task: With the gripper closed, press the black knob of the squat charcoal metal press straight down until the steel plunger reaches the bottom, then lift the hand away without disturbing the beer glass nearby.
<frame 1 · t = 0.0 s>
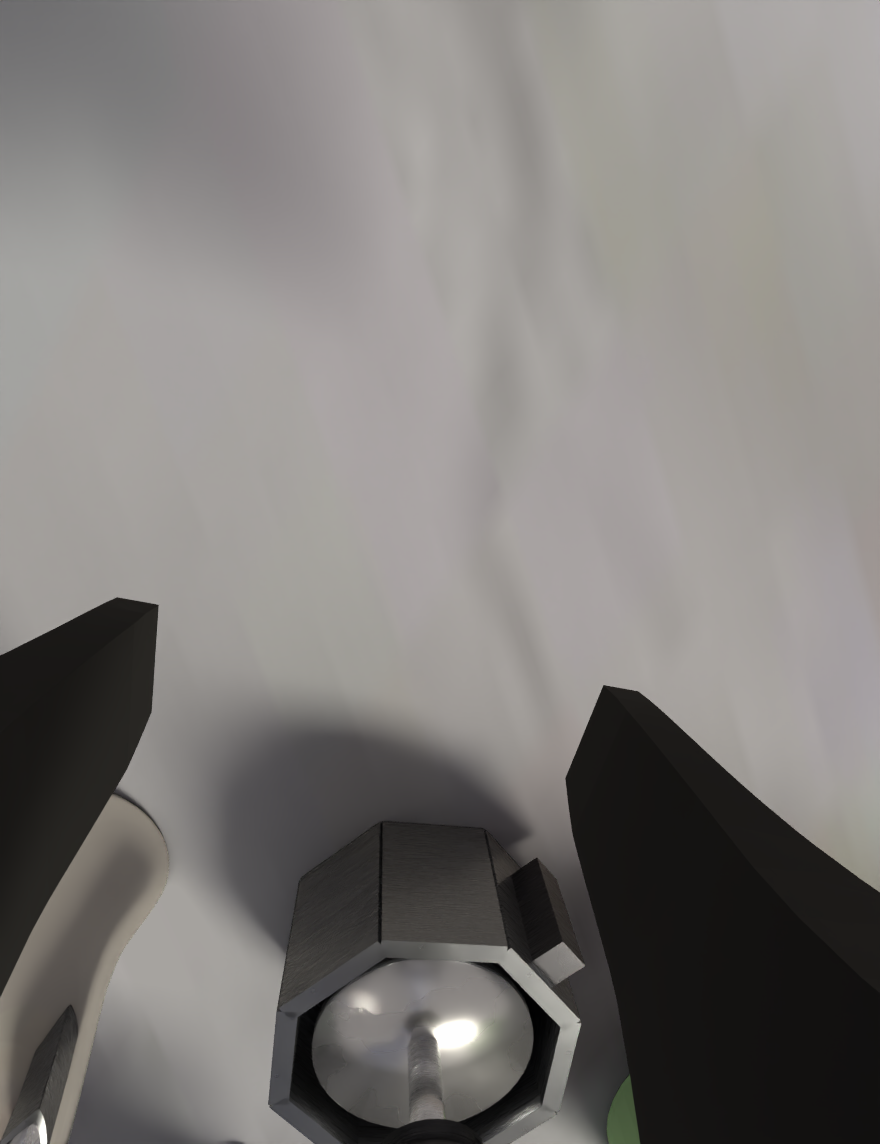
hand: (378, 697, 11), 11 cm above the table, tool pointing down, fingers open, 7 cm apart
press: (417, 927, 25), on the table
plunger: (427, 1114, 19), point 7 cm above the table, slide at 0.0 cm
beer glass: (82, 855, 24), on the table
mug: (747, 1100, 30), on the table
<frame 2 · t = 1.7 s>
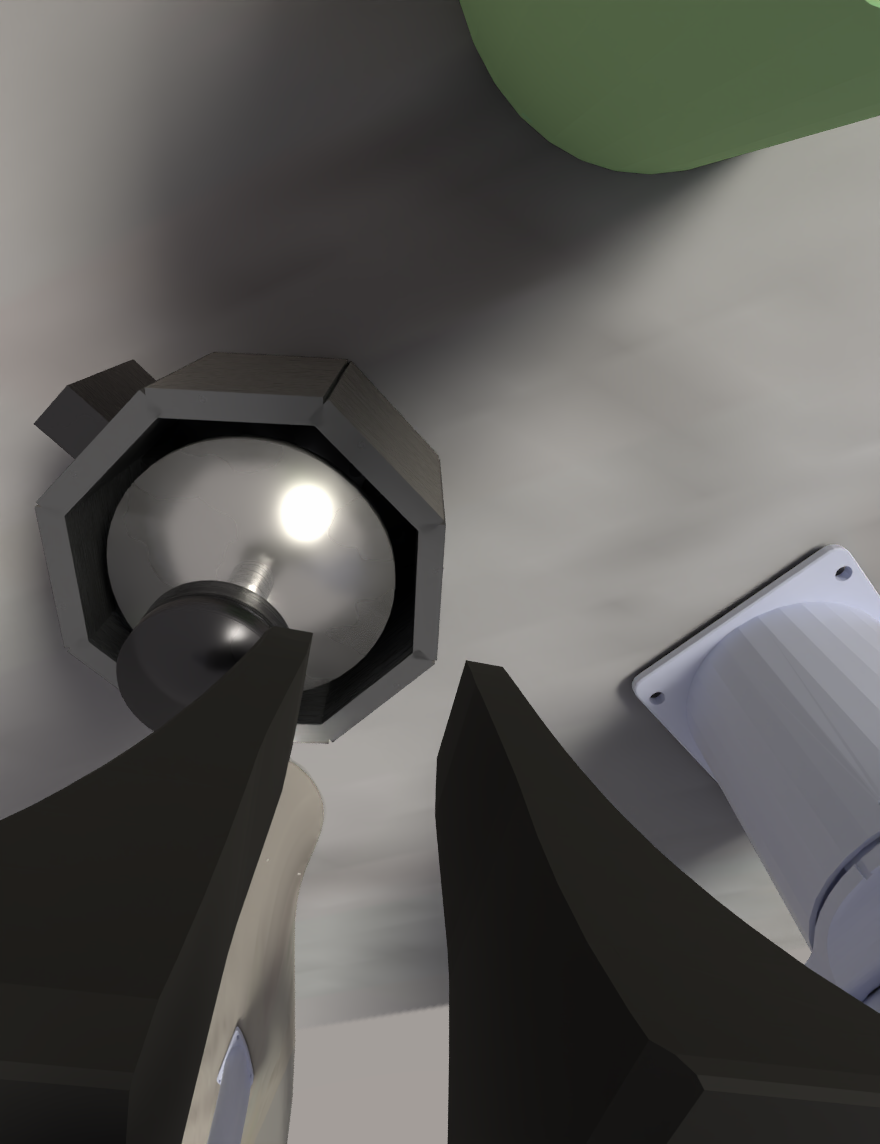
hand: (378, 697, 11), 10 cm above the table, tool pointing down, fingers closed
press: (287, 510, 21), on the table
plunger: (232, 619, 15), point 7 cm above the table, slide at 0.0 cm
beer glass: (244, 803, 26), on the table
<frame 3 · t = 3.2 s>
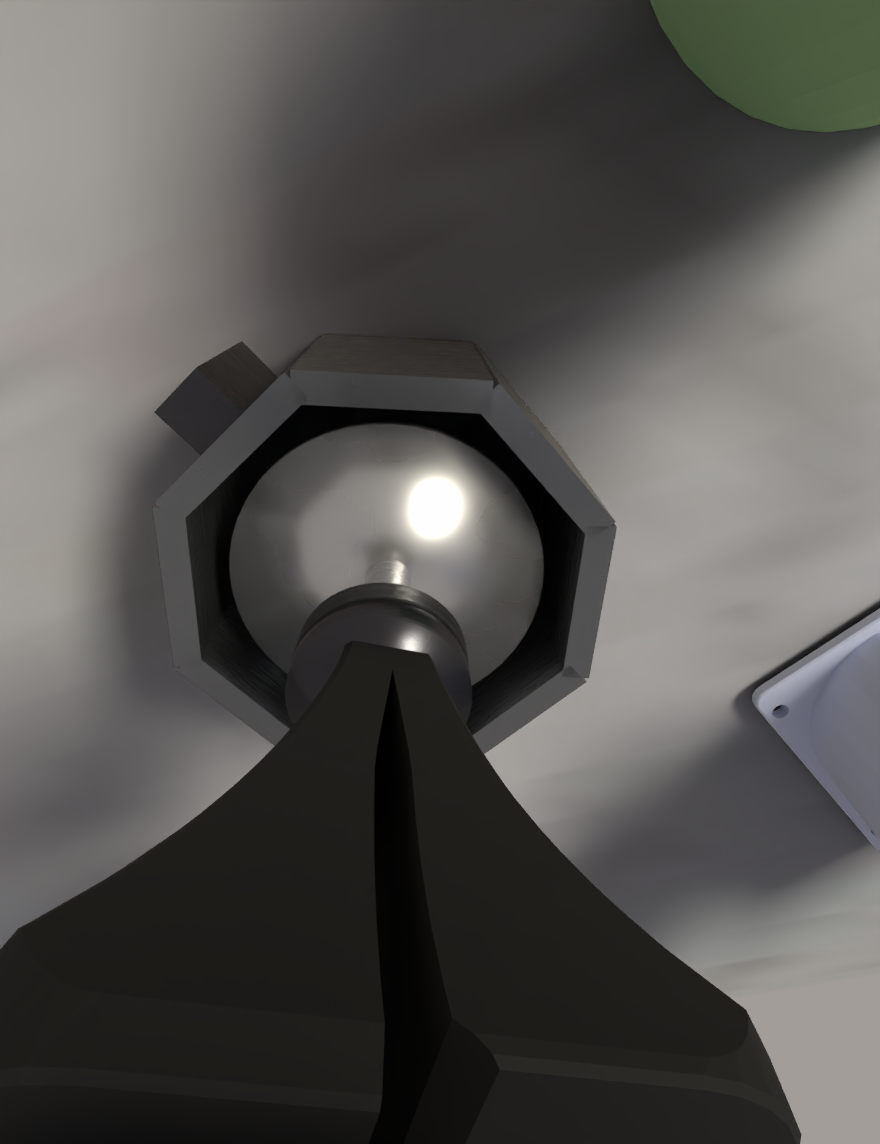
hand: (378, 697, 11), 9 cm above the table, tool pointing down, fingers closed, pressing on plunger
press: (393, 509, 19), on the table
plunger: (384, 625, 13), point 6 cm above the table, slide at 0.4 cm, touching gripper
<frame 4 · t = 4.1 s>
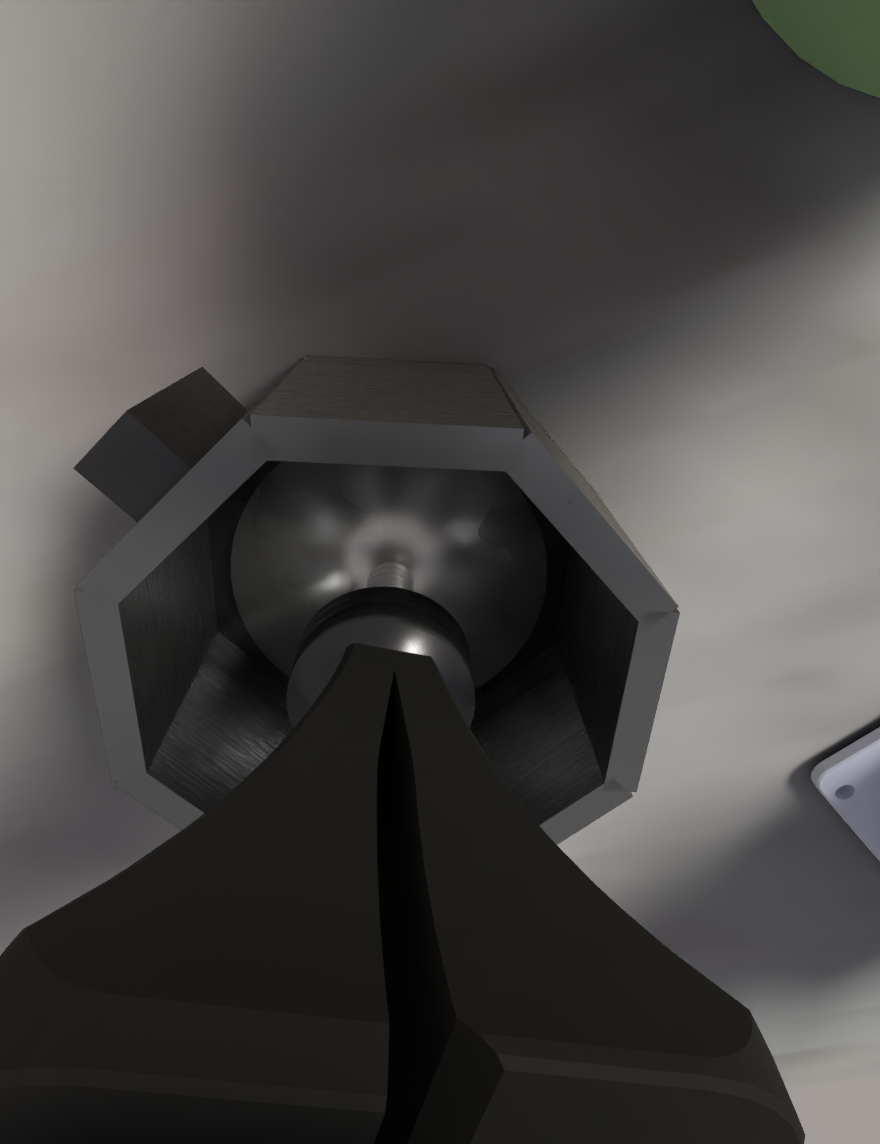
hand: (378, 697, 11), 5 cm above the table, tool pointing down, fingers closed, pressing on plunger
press: (391, 563, 16), on the table
plunger: (387, 629, 13), point 3 cm above the table, slide at 3.7 cm, touching gripper, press
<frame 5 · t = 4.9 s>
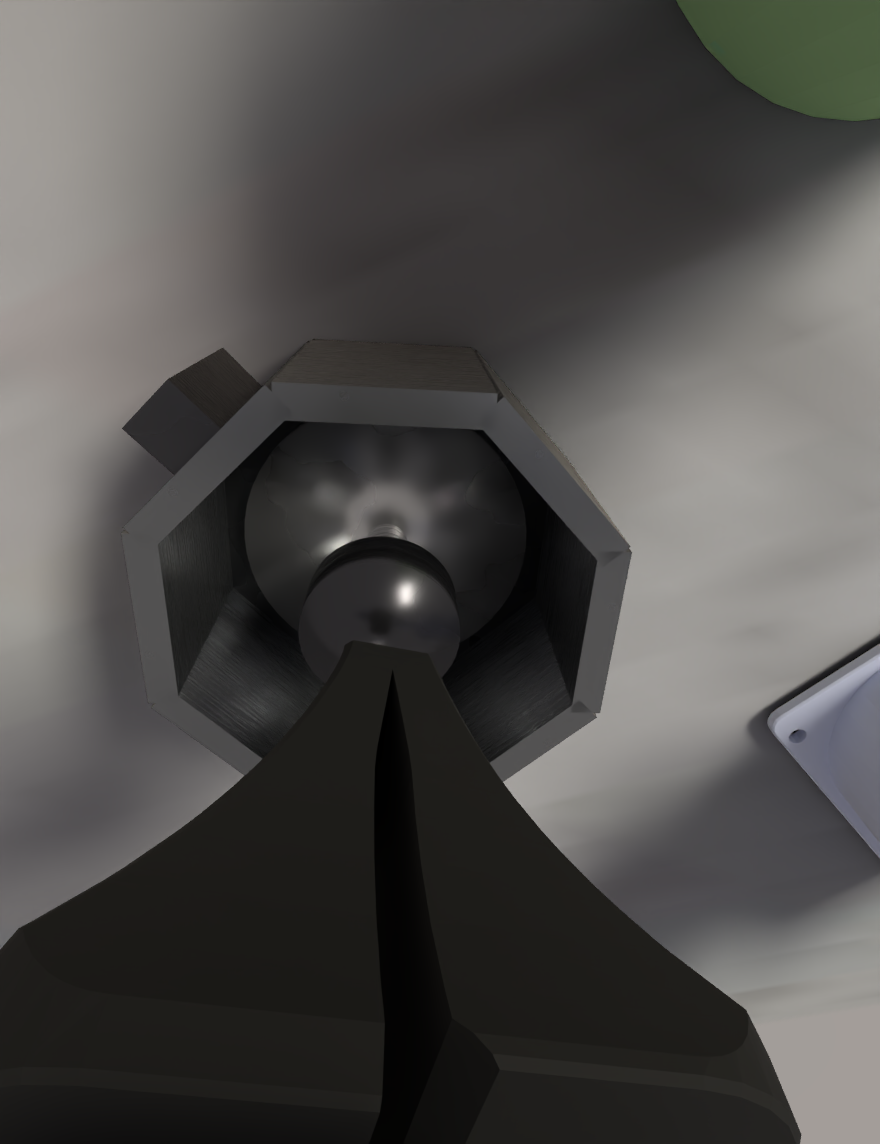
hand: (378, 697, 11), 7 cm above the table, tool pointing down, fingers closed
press: (388, 526, 17), on the table
plunger: (384, 579, 15), point 3 cm above the table, slide at 3.6 cm
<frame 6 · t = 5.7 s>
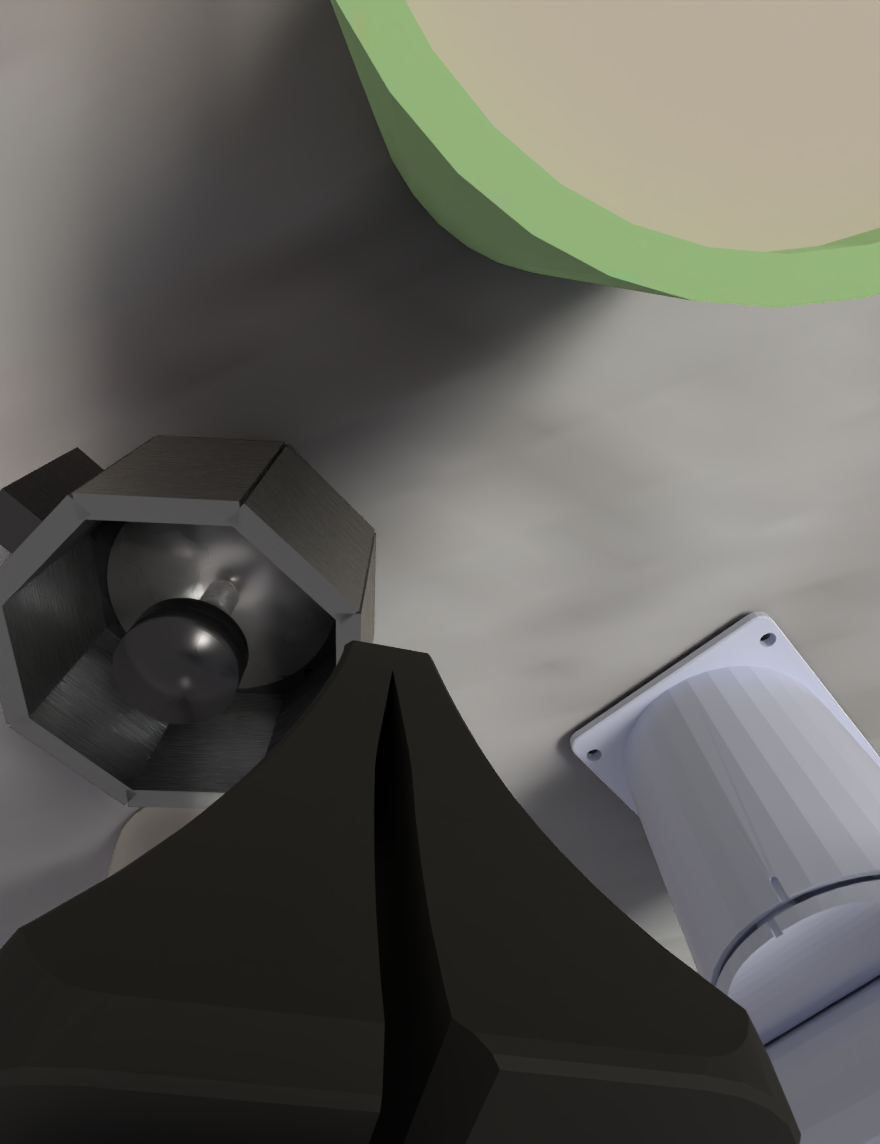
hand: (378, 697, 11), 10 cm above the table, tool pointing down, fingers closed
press: (232, 579, 21), on the table
plunger: (203, 627, 19), point 3 cm above the table, slide at 3.6 cm
beer glass: (201, 850, 27), on the table
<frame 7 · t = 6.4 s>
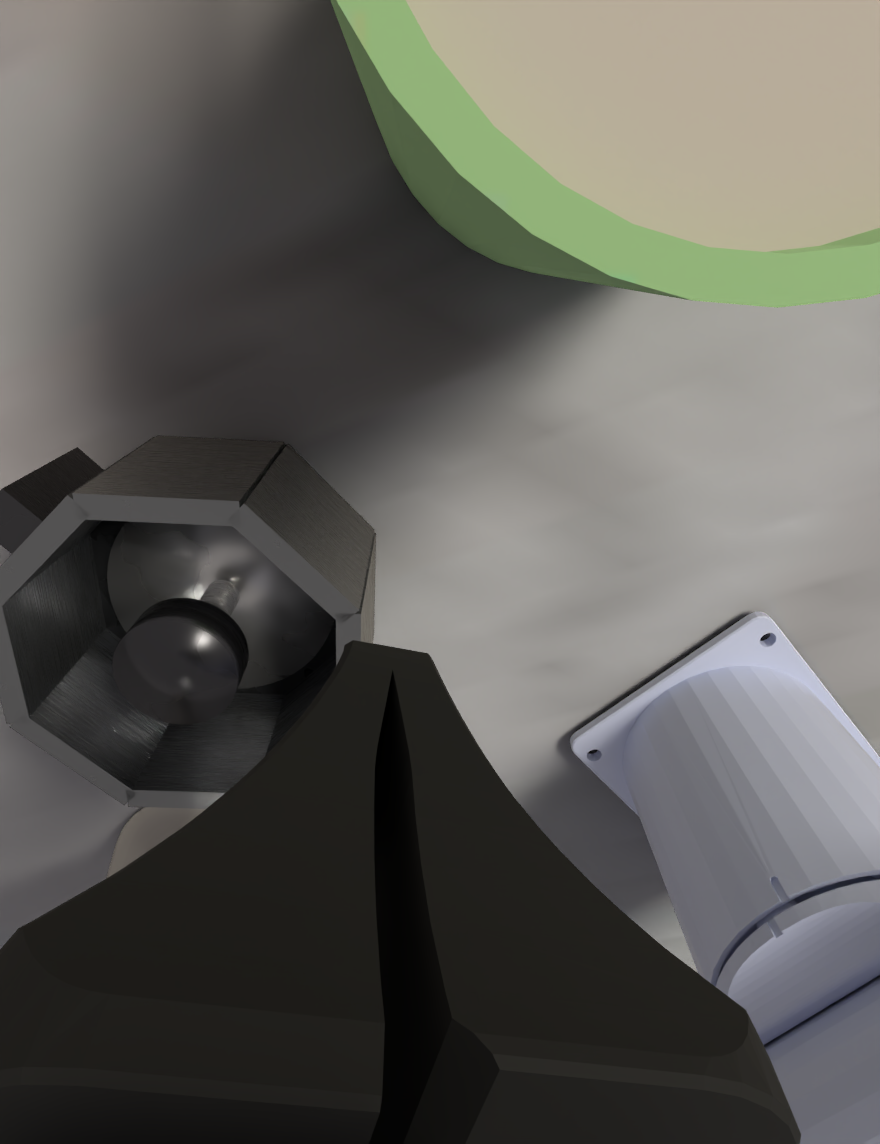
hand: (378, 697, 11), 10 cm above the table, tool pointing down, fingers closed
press: (232, 579, 21), on the table
plunger: (203, 627, 19), point 3 cm above the table, slide at 3.6 cm
beer glass: (201, 850, 27), on the table
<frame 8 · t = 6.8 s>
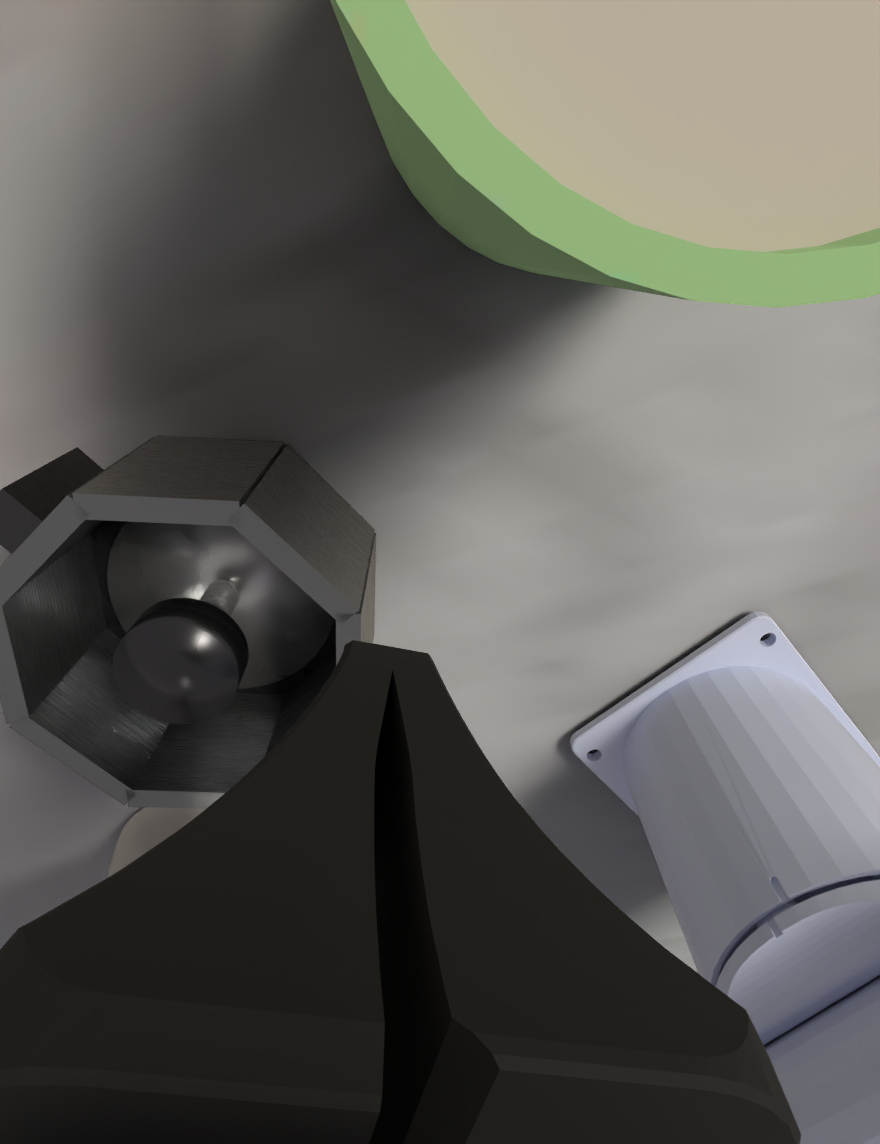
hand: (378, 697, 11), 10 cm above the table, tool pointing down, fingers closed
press: (232, 579, 21), on the table
plunger: (203, 627, 19), point 3 cm above the table, slide at 3.6 cm
beer glass: (201, 850, 27), on the table
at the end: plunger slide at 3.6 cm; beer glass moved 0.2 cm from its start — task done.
